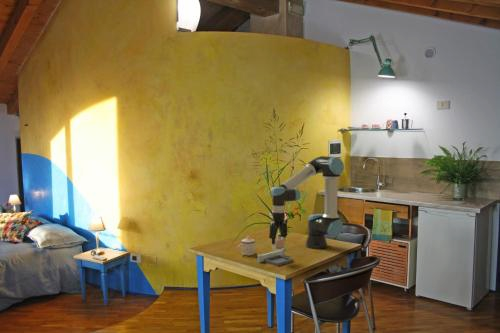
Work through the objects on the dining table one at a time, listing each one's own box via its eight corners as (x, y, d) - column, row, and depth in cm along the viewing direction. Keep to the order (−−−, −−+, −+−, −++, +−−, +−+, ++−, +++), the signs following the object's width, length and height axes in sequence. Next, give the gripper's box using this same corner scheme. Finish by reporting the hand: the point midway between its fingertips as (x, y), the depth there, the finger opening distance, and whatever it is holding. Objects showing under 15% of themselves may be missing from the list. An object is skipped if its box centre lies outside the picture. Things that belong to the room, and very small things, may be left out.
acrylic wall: (282, 255, 271) (282, 248, 270) (284, 255, 269) (284, 248, 269) (257, 262, 256) (257, 254, 255) (259, 262, 254) (259, 255, 254)
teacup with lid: (251, 251, 280) (250, 234, 279) (257, 254, 272) (257, 237, 271) (235, 253, 275) (235, 236, 274) (241, 257, 267) (241, 239, 266)
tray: (279, 257, 265) (279, 254, 265) (293, 261, 256) (293, 259, 256) (264, 261, 256) (264, 259, 256) (277, 266, 247) (277, 263, 247)
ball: (278, 246, 260) (278, 236, 260) (285, 248, 255) (285, 238, 255) (271, 248, 256) (271, 238, 255) (278, 250, 251) (278, 240, 251)
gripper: (285, 209, 263) (284, 244, 265) (263, 212, 250) (263, 249, 252) (293, 210, 257) (293, 246, 259) (271, 214, 245) (271, 252, 246)
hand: (278, 248), depth 255 cm, fingers closed on ball, 6 cm apart
